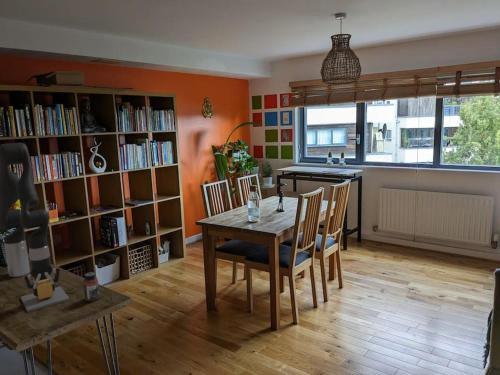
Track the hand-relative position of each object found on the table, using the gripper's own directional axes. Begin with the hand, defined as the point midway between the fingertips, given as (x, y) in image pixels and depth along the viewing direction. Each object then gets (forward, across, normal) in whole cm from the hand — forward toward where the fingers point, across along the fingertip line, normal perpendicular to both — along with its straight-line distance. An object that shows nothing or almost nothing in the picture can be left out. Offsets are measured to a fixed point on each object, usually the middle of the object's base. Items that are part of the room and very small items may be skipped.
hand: (44, 293), depth 169 cm
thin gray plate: (+3, 0, 0) cm, 3 cm away
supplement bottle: (+3, -16, +13) cm, 21 cm away
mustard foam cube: (+1, 0, 0) cm, 1 cm away
